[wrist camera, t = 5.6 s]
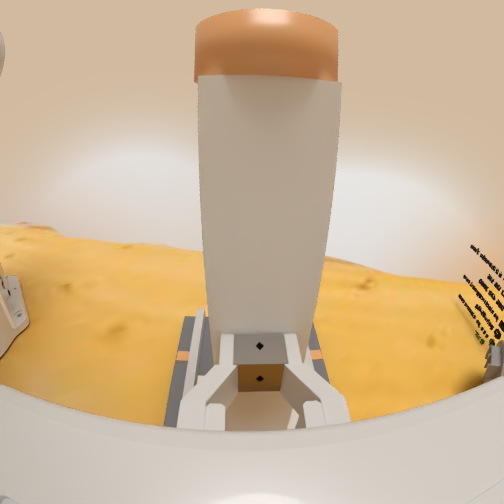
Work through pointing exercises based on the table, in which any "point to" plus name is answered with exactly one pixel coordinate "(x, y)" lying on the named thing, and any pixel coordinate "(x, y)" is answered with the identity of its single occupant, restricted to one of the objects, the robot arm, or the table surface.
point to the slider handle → (265, 180)
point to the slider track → (211, 361)
